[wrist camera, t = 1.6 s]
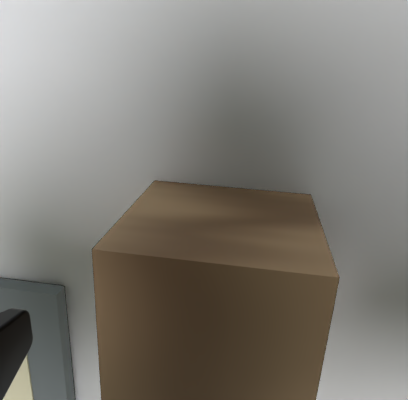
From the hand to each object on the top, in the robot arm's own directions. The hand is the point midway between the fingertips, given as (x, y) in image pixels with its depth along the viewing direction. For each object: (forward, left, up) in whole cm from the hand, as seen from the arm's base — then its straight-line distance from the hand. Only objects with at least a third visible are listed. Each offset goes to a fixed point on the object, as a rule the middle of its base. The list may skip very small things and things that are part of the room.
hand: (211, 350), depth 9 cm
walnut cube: (0, 0, -5) cm, 5 cm away
